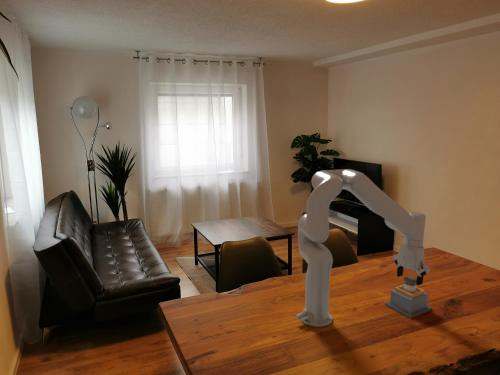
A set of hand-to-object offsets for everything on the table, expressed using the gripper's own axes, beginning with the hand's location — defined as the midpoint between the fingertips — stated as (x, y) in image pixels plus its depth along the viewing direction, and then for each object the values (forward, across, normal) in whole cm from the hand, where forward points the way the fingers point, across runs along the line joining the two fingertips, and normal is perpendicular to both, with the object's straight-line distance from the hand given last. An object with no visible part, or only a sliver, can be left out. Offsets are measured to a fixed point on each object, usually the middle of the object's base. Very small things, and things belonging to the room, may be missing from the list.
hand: (409, 280), depth 165 cm
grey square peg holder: (+12, 0, +1) cm, 13 cm away
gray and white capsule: (+6, 0, +1) cm, 6 cm away
